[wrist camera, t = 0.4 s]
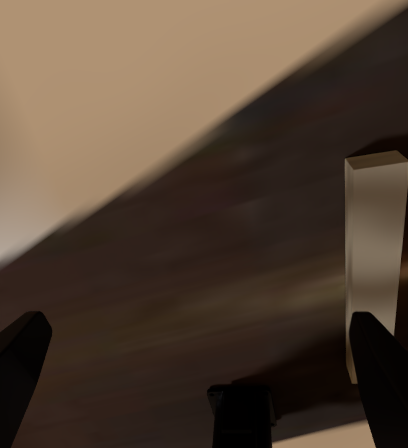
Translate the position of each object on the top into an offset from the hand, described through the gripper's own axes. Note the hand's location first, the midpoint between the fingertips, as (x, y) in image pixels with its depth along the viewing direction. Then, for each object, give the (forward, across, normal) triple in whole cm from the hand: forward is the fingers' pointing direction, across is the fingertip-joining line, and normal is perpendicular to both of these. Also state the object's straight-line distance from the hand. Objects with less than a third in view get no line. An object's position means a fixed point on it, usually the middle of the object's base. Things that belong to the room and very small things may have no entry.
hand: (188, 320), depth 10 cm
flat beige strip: (+13, -10, +12) cm, 21 cm away
